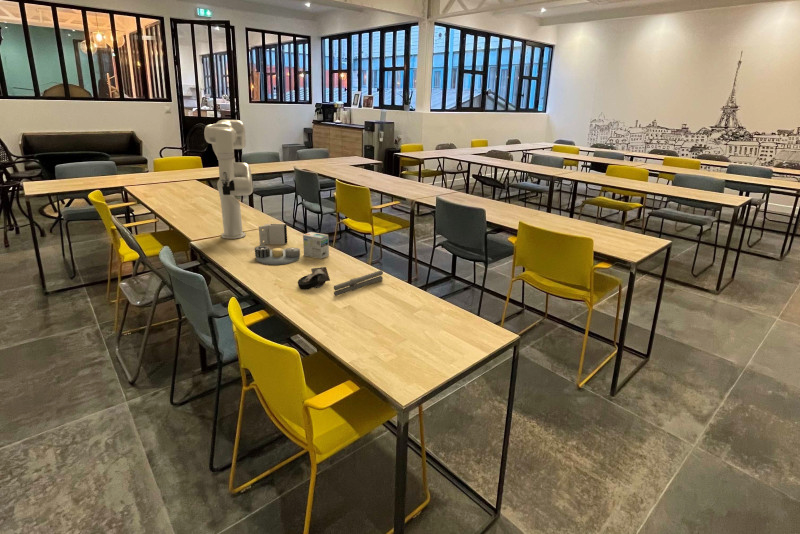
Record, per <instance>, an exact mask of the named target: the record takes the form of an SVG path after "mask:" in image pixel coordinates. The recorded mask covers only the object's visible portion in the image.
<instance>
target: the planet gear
mask: <svg viewBox="0 0 800 534" xmlns="http://www.w3.org/2000/svg"><path fill="white" fill-rule="evenodd" d="M261 248H264V249H261ZM270 250H271V247H270V246H268V245H258V246H255V247H254V257H255V258H256V257H257V258H263V257H264V258H267V257H269V256H270Z"/></svg>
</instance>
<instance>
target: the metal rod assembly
mask: <svg viewBox="0 0 800 534" xmlns="http://www.w3.org/2000/svg"><path fill="white" fill-rule="evenodd" d="M382 275H384V273H383V271H382V270H381V269H380V270H378V271H373V272H371V273H368V274H364V275H362V276H360V277H354V278H351V279H349V280H347V281H345V282H341V283H338V284H335V285H334V286H333V290H334V291H333V295H334V296H335V297H337V296H340V295H344V294H346V293H349V292H354V291H357V290H358V289H361V288H364V287H367V286H370V285H372V284H374V283H378V282H381V281H383V279H384V278H383V276H382Z"/></svg>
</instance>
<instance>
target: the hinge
mask: <svg viewBox="0 0 800 534" xmlns="http://www.w3.org/2000/svg"><path fill="white" fill-rule="evenodd" d="M287 231H288V229H287V224H286V223H265V224H264V225H261V226H258V234H259V246H266V245H265V244H267V245H287V244H288V232H287Z"/></svg>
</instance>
